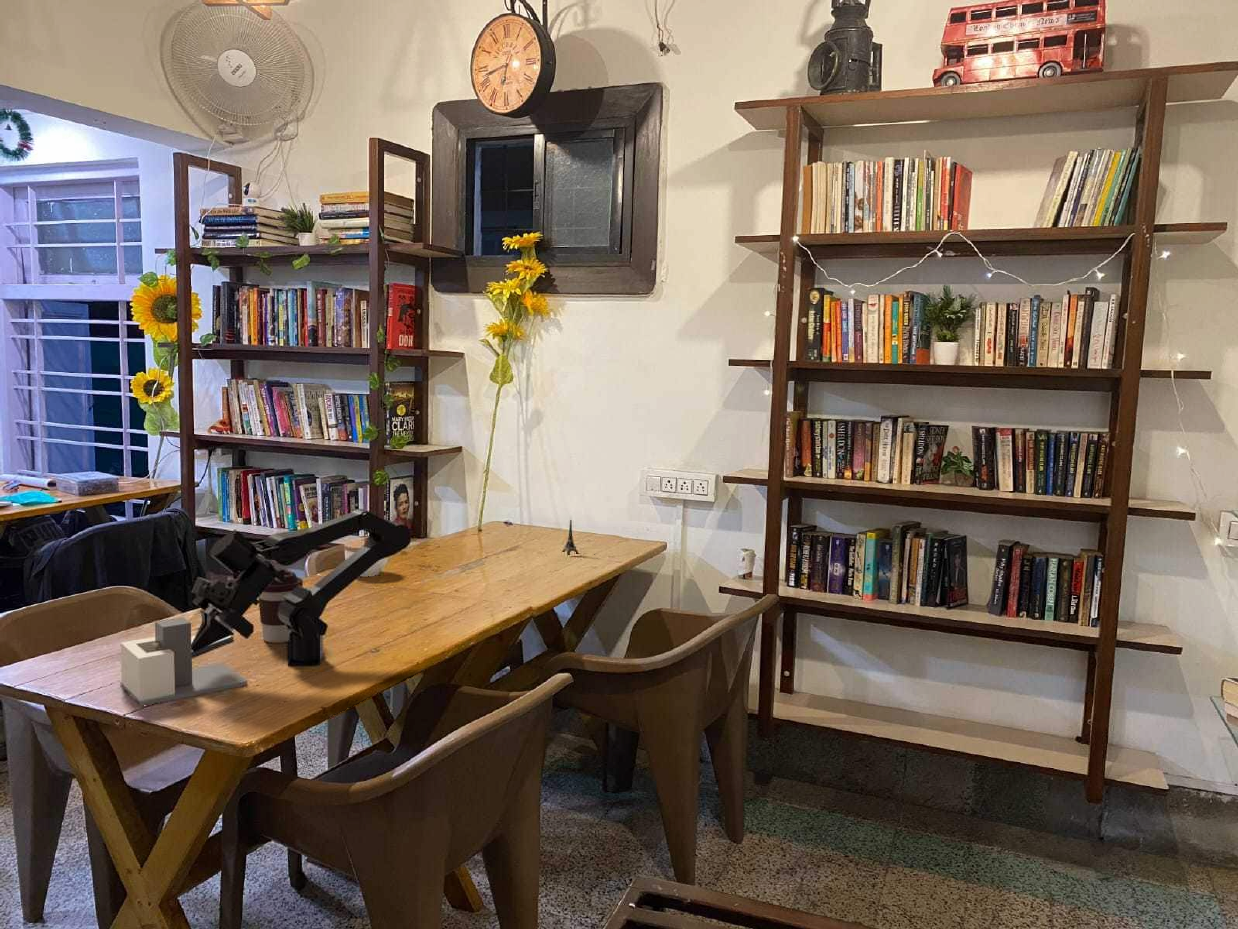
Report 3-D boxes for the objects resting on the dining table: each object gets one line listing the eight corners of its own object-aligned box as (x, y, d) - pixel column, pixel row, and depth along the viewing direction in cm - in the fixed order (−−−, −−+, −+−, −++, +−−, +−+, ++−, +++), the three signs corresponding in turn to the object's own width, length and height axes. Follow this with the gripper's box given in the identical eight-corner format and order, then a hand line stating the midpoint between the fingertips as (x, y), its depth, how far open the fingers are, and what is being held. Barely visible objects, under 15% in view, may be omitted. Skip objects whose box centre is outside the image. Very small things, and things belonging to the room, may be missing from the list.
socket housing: (221, 666, 194) (220, 624, 193) (247, 685, 184) (246, 641, 183) (120, 685, 181) (119, 641, 180) (141, 707, 171) (140, 660, 170)
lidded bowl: (392, 569, 284) (392, 533, 283) (383, 579, 272) (383, 541, 271) (350, 568, 284) (350, 532, 283) (339, 578, 271) (339, 540, 270)
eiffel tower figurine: (596, 555, 315) (597, 515, 314) (588, 561, 306) (589, 520, 304) (553, 551, 319) (554, 512, 317) (544, 558, 309) (545, 517, 308)
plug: (183, 676, 185) (182, 617, 183) (192, 683, 181) (190, 622, 180) (151, 683, 181) (149, 622, 179) (159, 690, 177) (157, 628, 176)
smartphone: (204, 638, 215) (149, 657, 200) (204, 631, 215) (149, 650, 199) (236, 643, 212) (183, 662, 197) (236, 635, 212) (183, 655, 197)
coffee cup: (311, 634, 217) (310, 570, 216) (288, 647, 208) (287, 580, 206) (272, 631, 219) (271, 567, 218) (247, 643, 210) (246, 577, 208)
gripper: (202, 554, 191) (145, 615, 185) (236, 571, 178) (175, 638, 171) (242, 586, 198) (188, 647, 191) (277, 605, 184) (220, 671, 178)
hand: (191, 650), depth 183 cm, fingers closed
